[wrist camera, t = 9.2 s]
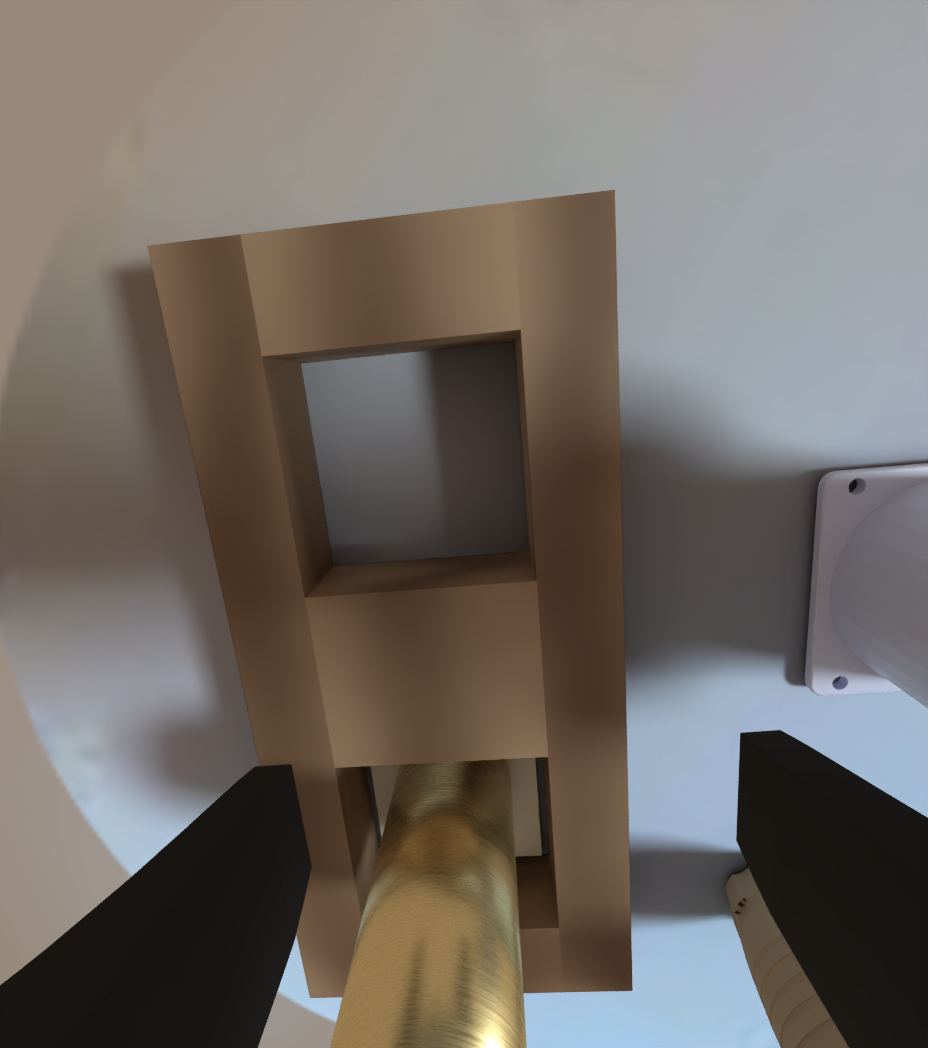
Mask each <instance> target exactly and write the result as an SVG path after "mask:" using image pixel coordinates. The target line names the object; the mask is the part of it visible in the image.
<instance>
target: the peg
mask: <svg viewBox="0 0 928 1048" xmlns="http://www.w3.org/2000/svg"><path fill="white" fill-rule="evenodd" d="M330 1048H526V1031H525V1014H524V996H523V979H522V962H521V944H520V927H519V910H518V892H517V875H516V858H515V840H514V823H513V806H512V788H511V774H510V769H509V766H508V763H507V761H506V759H498V760H479V761H459V762H440V763H420V764H401V765H399V769H398V773H397V777H396V782H395V786H394V790H393V794H392V798H391V802H390V806H389V810H388V814H387V818H386V822H385V826H384V831H383V835H382V839H381V843H380V847H379V851H378V855H377V859H376V863H375V867H374V871H373V875H372V880H371V884H370V888H369V892H368V896H367V900H366V904H365V908H364V912H363V916H362V920H361V924H360V929H359V933H358V937H357V941H356V945H355V949H354V953H353V957H352V961H351V965H350V969H349V973H348V978H347V982H346V986H345V990H344V994H343V998H342V1002H341V1006H340V1010H339V1014H338V1018H337V1022H336V1027H335V1031H334V1035H333V1039H332V1043H331V1047H330Z"/></svg>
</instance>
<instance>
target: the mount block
mask: <svg viewBox="0 0 928 1048" xmlns="http://www.w3.org/2000/svg"><path fill="white" fill-rule="evenodd" d="M148 251H149V255H150V260H151V264H152V269H153V274H154V278H155V283H156V288H157V292H158V297H159V301H160V306H161V311H162V315H163V320H164V325H165V329H166V334H167V338H168V343H169V348H170V352H171V357H172V362H173V366H174V371H175V375H176V380H177V385H178V389H179V394H180V399H181V403H182V408H183V412H184V417H185V422H186V426H187V431H188V436H189V440H190V445H191V449H192V454H193V459H194V463H195V468H196V473H197V477H198V482H199V486H200V491H201V496H202V500H203V505H204V509H205V514H206V519H207V523H208V528H209V533H210V537H211V542H212V546H213V551H214V556H215V560H216V565H217V570H218V574H219V579H220V583H221V588H222V593H223V597H224V602H225V607H226V611H227V616H228V620H229V625H230V630H231V634H232V639H233V644H234V648H235V653H236V657H237V662H238V667H239V671H240V676H241V681H242V685H243V690H244V694H245V699H246V704H247V708H248V713H249V718H250V722H251V727H252V731H253V736H254V741H255V745H256V750H257V755H258V759H259V764H260V766H271V765H285V764H291V765H292V770H293V775H294V780H295V785H296V790H297V795H298V800H299V805H300V810H301V815H302V820H303V825H304V830H305V834H306V839H307V844H308V849H309V854H310V859H311V864H312V868H311V873H310V877H309V882H308V886H307V891H306V895H305V900H304V904H303V908H302V912H301V916H300V920H299V924H298V928H297V932H296V935H297V939H298V944H299V949H300V953H301V958H302V963H303V967H304V972H305V976H306V981H307V986H308V990H309V995H310V998H326V997H343V994H344V990H345V986H346V982H347V978H348V973H349V969H350V965H351V961H352V957H353V953H354V949H355V945H356V941H357V937H358V933H359V929H360V924H361V920H362V916H363V912H364V908H365V904H366V900H367V896H368V892H369V888H370V884H371V880H372V875H373V871H374V867H375V863H376V859H377V855H378V851H379V848H378V842H377V836H376V829H375V823H374V817H373V811H372V805H371V798H370V792H369V786H368V780H367V773H366V767H365V766H370V767H371V773H372V780H373V786H374V792H375V799H376V805H377V811H378V818H379V824H380V830H381V837H382V835H383V831H384V826H385V822H386V818H387V814H388V810H389V806H390V802H391V798H392V794H393V790H394V786H395V782H396V777H397V773H398V769H399V765H401V764H420V763H440V762H459V761H479V760H498V759H506V761H507V763H508V766H509V769H510V774H511V788H512V806H513V823H514V840H515V858H516V875H517V892H518V910H519V927H520V944H521V962H522V979H523V993H549V992H594V991H632V951H631V905H630V860H629V815H628V770H627V725H626V680H625V634H624V589H623V544H622V499H621V454H620V408H619V363H618V318H617V273H616V228H615V190H609V191H601V192H593V193H584V194H576V195H568V196H559V197H551V198H543V199H534V200H526V201H518V202H509V203H501V204H493V205H484V206H476V207H468V208H459V209H451V210H443V211H434V212H426V213H417V214H409V215H401V216H392V217H384V218H376V219H367V220H359V221H351V222H342V223H334V224H326V225H317V226H309V227H301V228H292V229H284V230H276V231H267V232H259V233H251V234H242V235H234V236H225V237H217V238H209V239H200V240H192V241H184V242H175V243H167V244H159V245H150V246H148ZM513 341H515V351H516V366H517V381H518V396H519V411H520V426H521V441H522V456H523V471H524V486H525V501H526V516H527V531H528V546H529V551H527V552H514V553H500V554H487V555H474V556H461V557H448V558H435V559H422V560H409V561H396V562H383V563H370V564H357V565H344V566H333V562H332V556H331V549H330V543H329V537H328V531H327V525H326V518H325V512H324V506H323V500H322V493H321V487H320V481H319V475H318V468H317V462H316V456H315V450H314V444H313V437H312V431H311V425H310V419H309V412H308V406H307V400H306V394H305V388H304V381H303V375H302V369H301V363H309V362H318V361H328V360H338V359H348V358H357V357H367V356H377V355H387V354H396V353H406V352H416V351H426V350H435V349H445V348H455V347H464V346H474V345H484V344H494V343H503V342H513ZM537 757H543V771H544V786H545V801H546V816H547V831H548V846H549V855H542V848H541V833H540V819H539V805H538V791H537V777H536V763H535V758H537Z"/></svg>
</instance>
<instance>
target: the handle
mask: <svg viewBox="0 0 928 1048" xmlns="http://www.w3.org/2000/svg"><path fill="white" fill-rule="evenodd" d="M726 892H727V896H728V899H729V902H730V904H731V914H732V917H733V920H734V924H735V926H736V929H737V932H738V934H739V937H740V939H741V943H742V946H743V950H744V953H745V957H746V960H747V963H748V966H749V969H750V972H751V975H752V978H753V980H754V983H755V985H756V988H757V991H758V993H759V996H760V999H761V1001H762V1003H763V1006H764V1008H765V1011H766V1014H767V1016H768V1019H769V1021H770V1024H771V1026H772V1028H773V1031H774V1033H775V1035H776V1038H777V1040H778V1042H779V1045H780V1047H781V1048H849V1047H848V1045H847V1043H846V1042H845V1040H844V1038H843V1037H842V1035H841V1033H840V1032H839V1030H838V1028H837V1027H836V1025H835V1023H834V1022H833V1020H832V1018H831V1017H830V1015H829V1013H828V1012H827V1010H826V1008H825V1006H824V1005H823V1003H822V1001H821V1000H820V998H819V996H818V995H817V993H816V991H815V990H814V988H813V986H812V985H811V983H810V981H809V980H808V978H807V976H806V974H805V973H804V971H803V969H802V968H801V966H800V964H799V962H798V961H797V959H796V957H795V956H794V954H793V952H792V950H791V949H790V947H789V945H788V944H787V942H786V940H785V939H784V937H783V935H782V933H781V932H780V930H779V928H778V926H777V925H776V923H775V921H774V919H773V918H772V916H771V914H770V912H769V910H768V908H767V906H766V904H765V902H764V900H763V898H762V895H761V893H760V891H759V889H758V887H757V885H756V883H755V881H754V879H753V876H752V874H751V872H750V870H749V867H748V868H747V869H746V870H744V871H742V872H740V873H738V874H733V875H731V876H730V878H729V879H728V882H727V884H726Z"/></svg>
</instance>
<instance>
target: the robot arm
mask: <svg viewBox="0 0 928 1048" xmlns="http://www.w3.org/2000/svg"><path fill="white" fill-rule="evenodd" d="M854 479H856V480H857V486H856V488H855V489H854V490H853V491H852V492H849V488H848V487H849V484H850V482H852V481H853V480H854ZM839 676H841V677H840V680H839V681H838V682H836V683H833V680H834V679H835V678H836V677H839ZM832 683H833V684H832ZM805 684H806V686H807V687H808V688H809V689H810V690H811V691H812V692H813V693H815V694H817V695H822V696H827V695H845V694H863V693H880V692H898V691H904V692H905V693H907V694H908V695H910V696H911V697H912V698H914V699H915V700H917V701H918V702H920V703H921V704H922V705H924V706H925V707H927V708H928V463H924V464H912V465H900V466H888V467H876V468H864V469H852V470H840V471H833V472H829V473H827V474H826V475H824V476H823V477H822V479H821V480H820V481H819V485H818V493H817V507H816V522H815V537H814V551H813V566H812V580H811V595H810V610H809V624H808V639H807V653H806V668H805ZM736 841H737V843H738V845H739V847H740V849H741V852H742V854H743V856H744V858H745V861H746V863H747V865H748V867H749V870H750V872H751V874H752V876H753V879H754V881H755V883H756V885H757V887H758V889H759V891H760V893H761V895H762V898H763V900H764V902H765V904H766V906H767V908H768V910H769V912H770V914H771V916H772V918H773V919H774V921H775V923H776V925H777V926H778V928H779V930H780V932H781V933H782V935H783V937H784V939H785V940H786V942H787V944H788V945H789V947H790V949H791V950H792V952H793V954H794V956H795V957H796V959H797V961H798V962H799V964H800V966H801V968H802V969H803V971H804V973H805V974H806V976H807V978H808V980H809V981H810V983H811V985H812V986H813V988H814V990H815V991H816V993H817V995H818V996H819V998H820V1000H821V1001H822V1003H823V1005H824V1006H825V1008H826V1010H827V1012H828V1013H829V1015H830V1017H831V1018H832V1020H833V1022H834V1023H835V1025H836V1027H837V1028H838V1030H839V1032H840V1033H841V1035H842V1037H843V1038H844V1040H845V1042H846V1043H847V1045H848V1047H849V1048H928V818H927V817H926V816H924V815H922V814H920V813H919V812H917V811H915V810H914V809H912V808H910V807H909V806H907V805H905V804H904V803H902V802H900V801H899V800H897V799H895V798H894V797H892V796H890V795H889V794H887V793H885V792H884V791H882V790H880V789H879V788H877V787H875V786H874V785H872V784H871V783H869V782H867V781H866V780H864V779H862V778H861V777H859V776H857V775H856V774H854V773H852V772H851V771H849V770H847V769H846V768H844V767H843V766H841V765H839V764H838V763H836V762H834V761H833V760H831V759H829V758H828V757H826V756H824V755H823V754H821V753H819V752H818V751H816V750H814V749H813V748H811V747H809V746H808V745H806V744H804V743H802V742H801V741H799V740H797V739H795V738H794V737H792V736H790V735H788V734H786V733H785V732H783V731H781V730H775V731H761V732H746V733H741V734H740V760H739V786H738V812H737V839H736ZM311 868H312V864H311V859H310V854H309V849H308V844H307V839H306V834H305V830H304V825H303V820H302V815H301V810H300V805H299V800H298V795H297V790H296V785H295V780H294V775H293V770H292V765H291V764H285V765H271V766H257V767H254V768H253V769H252V770H250V771H249V772H248V773H247V774H245V775H244V776H243V777H242V778H241V779H240V780H238V781H237V782H236V783H235V784H234V785H233V786H232V787H231V788H229V789H228V790H227V791H226V792H225V793H224V794H223V795H222V796H221V797H220V798H218V799H217V800H216V801H215V802H214V803H213V804H212V805H211V806H210V807H209V808H207V809H206V810H205V811H204V812H203V813H202V814H201V815H200V816H199V817H198V818H197V819H195V820H194V821H193V822H192V823H191V824H190V825H189V826H188V827H187V828H186V829H184V830H183V831H182V832H181V833H180V834H179V835H178V836H177V837H176V838H174V839H173V840H172V841H171V842H170V843H169V844H168V845H167V846H166V847H164V848H163V849H162V850H161V851H160V852H159V853H158V854H157V855H156V856H154V857H153V858H152V859H151V860H150V861H149V862H148V863H147V864H145V865H144V866H143V867H142V868H141V869H140V870H139V871H138V872H137V873H135V874H134V875H133V876H132V877H131V878H130V879H129V880H127V881H126V882H125V883H124V884H123V885H122V886H120V887H119V888H118V889H117V890H116V891H114V892H113V893H112V894H111V895H110V896H108V898H106V899H105V900H104V901H103V902H102V903H100V904H99V905H98V906H97V907H95V908H94V909H93V910H92V911H91V912H90V913H88V914H87V915H86V916H85V917H84V918H82V919H81V920H80V921H79V922H78V923H77V924H75V925H74V926H73V927H72V928H71V929H69V930H68V931H67V932H66V933H65V934H63V935H62V936H61V937H60V938H59V939H58V940H56V941H55V942H54V943H53V944H52V945H50V946H49V947H48V948H47V949H46V950H45V951H43V952H42V953H41V954H39V955H38V956H37V957H36V958H34V959H33V960H32V961H31V962H29V963H28V964H27V965H26V966H24V967H23V968H22V969H21V970H19V971H18V972H17V973H15V974H14V975H13V976H12V977H10V978H9V979H8V980H7V981H5V982H4V983H3V984H2V985H0V1048H258V1045H259V1042H260V1039H261V1036H262V1034H263V1031H264V1028H265V1025H266V1022H267V1019H268V1016H269V1013H270V1011H271V1008H272V1005H273V1002H274V999H275V996H276V993H277V991H278V988H279V985H280V982H281V979H282V976H283V973H284V970H285V967H286V964H287V961H288V958H289V955H290V952H291V949H292V946H293V943H294V940H295V936H296V932H297V928H298V924H299V920H300V916H301V912H302V908H303V904H304V900H305V895H306V891H307V886H308V882H309V877H310V873H311Z"/></svg>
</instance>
